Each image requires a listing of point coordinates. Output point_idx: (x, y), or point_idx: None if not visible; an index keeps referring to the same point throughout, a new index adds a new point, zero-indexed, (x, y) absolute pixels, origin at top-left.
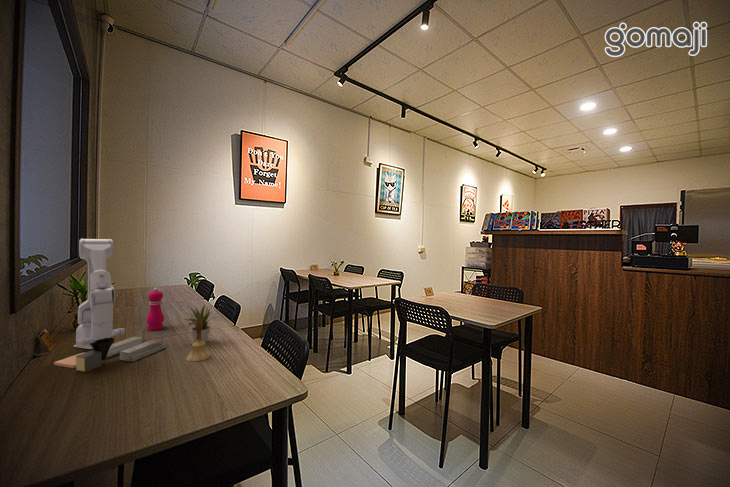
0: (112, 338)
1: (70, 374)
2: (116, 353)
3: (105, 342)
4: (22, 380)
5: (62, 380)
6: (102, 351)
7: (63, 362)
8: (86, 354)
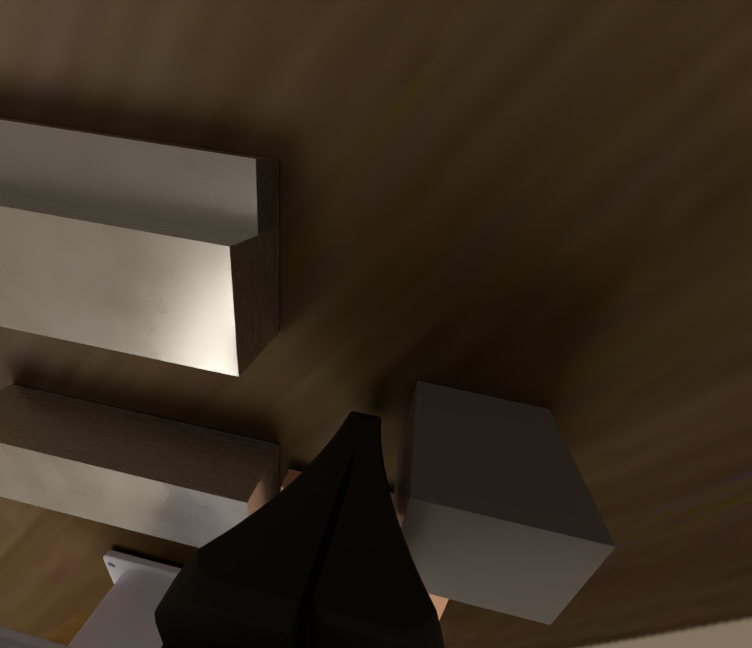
0: (171, 627)
1: (586, 471)
2: (204, 432)
3: (357, 629)
4: (649, 622)
5: (712, 452)
6: (383, 494)
7: (433, 597)
8: (509, 575)
